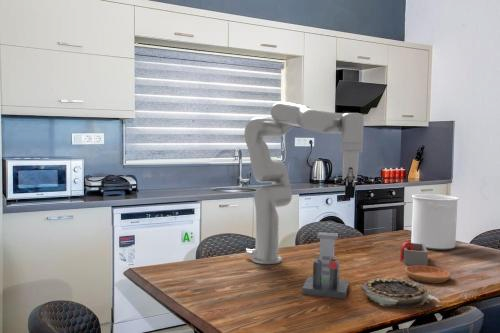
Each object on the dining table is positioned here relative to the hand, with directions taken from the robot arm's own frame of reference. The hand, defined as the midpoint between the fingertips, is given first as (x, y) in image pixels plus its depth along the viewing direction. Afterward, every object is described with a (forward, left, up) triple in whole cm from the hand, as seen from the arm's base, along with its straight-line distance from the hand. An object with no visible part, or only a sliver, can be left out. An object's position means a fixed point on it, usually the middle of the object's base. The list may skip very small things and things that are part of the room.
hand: (349, 196), depth 165 cm
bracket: (+26, +41, -31) cm, 58 cm away
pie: (+16, -12, -32) cm, 38 cm away
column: (-6, -11, -29) cm, 32 cm away
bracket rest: (+26, +41, -31) cm, 58 cm away
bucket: (+37, +75, -31) cm, 89 cm away
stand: (-6, -11, -31) cm, 34 cm away
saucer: (+29, +16, -32) cm, 46 cm away
